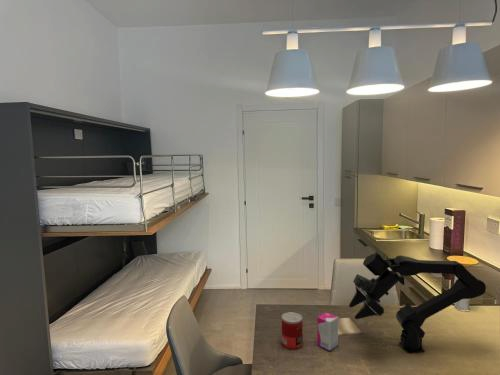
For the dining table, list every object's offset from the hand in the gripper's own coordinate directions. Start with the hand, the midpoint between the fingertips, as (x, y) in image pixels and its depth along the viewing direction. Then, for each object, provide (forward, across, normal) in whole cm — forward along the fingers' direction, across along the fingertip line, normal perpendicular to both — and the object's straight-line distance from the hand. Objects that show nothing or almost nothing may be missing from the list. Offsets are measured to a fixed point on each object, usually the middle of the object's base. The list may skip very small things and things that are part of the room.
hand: (352, 312), depth 126 cm
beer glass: (-30, -32, +50) cm, 66 cm away
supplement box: (+16, 0, +3) cm, 16 cm away
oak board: (+11, -14, +9) cm, 20 cm away
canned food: (+25, -1, -6) cm, 26 cm away
